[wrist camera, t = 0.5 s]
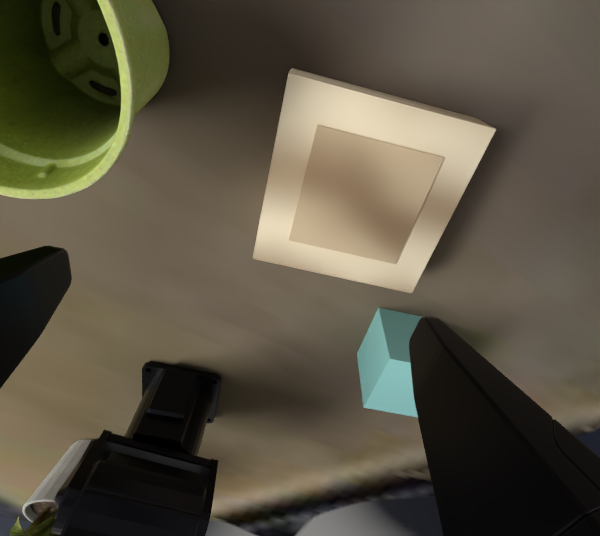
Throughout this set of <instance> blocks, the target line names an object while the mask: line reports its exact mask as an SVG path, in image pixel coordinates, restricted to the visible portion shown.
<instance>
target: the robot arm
mask: <svg viewBox="0 0 600 536" xmlns="http://www.w3.org/2000/svg"><path fill="white" fill-rule="evenodd" d="M71 279H72V277H71V269H70V263H69V257H68V253H67V251H66V250H65V249H63V248H58V247H53V246H43V247H39V248H36V249H32V250H29V251H25V252H22V253H18V254H14V255H11V256H7V257H4V258H0V388H1V387H2V386H3V384H4V383H5V382H6V380H7V379H8V378H9V376H10V375H11V374H12V372H13V371H14V370H15V368H16V367H17V366H18V364H19V363H20V362H21V361H22V359H23V358H24V357H25V355H26V354H27V353H28V351H29V350H30V349H31V347H32V346H33V345H34V343H35V342H36V341H37V339H38V338H39V336H40V335H41V333H42V332H43V330H44V329H45V327H46V325H47V324H48V322H49V320H50V318H51V317H52V315H53V313H54V312H55V310H56V308H57V307H58V305H59V303H60V302H61V300H62V298H63V297H64V295H65V293H66V292H67V290H68V288H69V286H70V284H71ZM409 353H410V363H411V374H412V384H413V394H414V400H415V406H416V411H417V415H418V420H419V425H420V429H421V434H422V439H423V444H424V448H425V453H426V458H427V462H428V467H429V472H430V476H431V481H432V486H433V490H434V495H435V500H436V504H437V509H438V514H439V518H440V523H441V528H442V532H443V536H600V458H599V456H597V455H596V454H595V453H594V452H592V451H591V450H590V449H589V448H588V447H587V446H585V445H584V444H583V443H582V442H581V441H579V440H578V439H577V438H576V437H575V436H574V435H572V434H571V433H570V432H569V431H568V430H567V429H565V428H564V427H563V426H562V425H561V424H560V423H559V422H557V421H556V420H554V419H553V420H552V417H551V416H550V415H549V414H548V413H547V412H546V411H545V410H543V409H542V408H541V407H540V406H539V405H538V404H537V403H535V402H534V401H533V400H532V399H531V398H530V397H529V396H527V395H526V394H525V393H524V392H523V391H522V390H520V389H519V388H518V387H517V386H516V385H515V384H514V383H512V382H511V381H510V380H509V379H508V378H507V377H505V376H504V375H503V374H502V373H501V372H500V371H499V370H497V369H496V368H495V367H494V366H493V365H492V364H491V363H489V362H488V361H487V360H486V359H485V358H484V357H482V356H481V355H480V354H479V353H478V352H477V351H476V350H474V349H473V348H472V347H471V346H470V345H469V344H468V343H466V342H465V341H464V340H463V339H462V338H461V337H459V336H458V335H457V334H456V333H455V332H454V331H453V330H451V329H450V328H449V327H448V326H447V325H446V324H445V323H443V322H442V321H441V320H440V319H438V318H435V317H429V316H423V317H421V318H420V320H419V322H418V324H417V326H416V328H415V330H414V332H413V334H412V336H411V338H410V341H409ZM220 384H221V377H220V376H219V375H216V374H210V373H205V372H199V371H194V370H189V369H183V368H178V367H172V366H167V365H161V364H156V363H150V362H147V363H145V364H144V366H143V368H142V400H141V402H140V404H139V407H138V409H137V411H136V413H135V415H134V417H133V419H132V421H131V424H130V426H129V428H128V430H127V432H126V434H125V436H120V435H117V434H113V433H112V432H111V431H107V430H104V431H103V433H102V434H101V436H100V438H99V439H96V440H91V441H90V443H89V445H88V447H87V449H86V451H85V452H84V454H83V456H82V458H81V460H80V461H79V463H78V464H77V466H76V467H75V469H74V470H73V471H72V473H71V474H70V475H69V477H68V478H67V480H66V481H65V482H64V484H63V485H62V486H61V488H60V489H59V491H58V492H57V494H56V496H55V499H54V502H55V505H56V508H57V512H56V515H55V519H56V520H55V522H54V525H53V528H52V533H54V534H59V535H60V536H205V534H206V531H207V527H208V523H209V519H210V514H211V509H212V502H213V494H214V487H215V480H216V473H217V465H218V460H214V459H211V460H209V459H206V458H202V457H198V452H199V448H200V445H201V441H202V437H203V434H204V430H205V427H206V423H212V422H213V421H214V417H215V412H216V406H217V401H218V395H219V389H220Z"/></svg>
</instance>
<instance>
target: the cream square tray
mask: <svg viewBox="0 0 600 536" xmlns="http://www.w3.org/2000/svg"><path fill="white" fill-rule="evenodd" d="M495 131H496V129H495V128H493V127H492V126H490V125H488V124H486V123H485V122H483V121H481V120H479V119H477V118H474V117H471V116H467V115H463V114H460V113H456V112H452V111H449V110H445V109H441V108H438V107H434V106H430V105H427V104H423V103H419V102H416V101H412V100H408V99H405V98H401V97H397V96H394V95H390V94H386V93H383V92H379V91H375V90H372V89H368V88H364V87H360V86H357V85H353V84H349V83H346V82H342V81H338V80H335V79H331V78H327V77H324V76H320V75H316V74H313V73H309V72H305V71H302V70H298V69H294V68H291V70H290V71H289V73H288V78H287V83H286V88H285V94H284V99H283V104H282V109H281V114H280V119H279V124H278V130H277V135H276V140H275V145H274V150H273V155H272V161H271V166H270V171H269V176H268V181H267V186H266V192H265V197H264V202H263V207H262V212H261V217H260V223H259V228H258V233H257V238H256V243H255V248H254V253H253V259H257V260H261V261H266V262H270V263H275V264H280V265H284V266H289V267H293V268H298V269H303V270H307V271H312V272H316V273H321V274H326V275H330V276H335V277H339V278H344V279H349V280H353V281H358V282H362V283H367V284H372V285H376V286H381V287H385V288H390V289H395V290H399V291H404V292H409V293H412V292H413V290H414V288H415V286H416V284H417V282H418V280H419V278H420V276H421V274H422V272H423V271H424V269H425V267H426V265H427V263H428V261H429V259H430V257H431V255H432V253H433V251H434V249H435V247H436V245H437V243H438V241H439V240H440V238H441V236H442V234H443V232H444V230H445V228H446V226H447V224H448V222H449V220H450V218H451V216H452V214H453V212H454V210H455V208H456V207H457V205H458V203H459V201H460V199H461V197H462V195H463V193H464V191H465V189H466V187H467V185H468V183H469V181H470V179H471V177H472V176H473V174H474V172H475V170H476V168H477V166H478V164H479V162H480V160H481V158H482V156H483V154H484V152H485V150H486V148H487V146H488V144H489V143H490V141H491V139H492V137H493V135H494V133H495Z"/></svg>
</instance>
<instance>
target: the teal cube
mask: <svg viewBox="0 0 600 536" xmlns="http://www.w3.org/2000/svg"><path fill="white" fill-rule="evenodd" d="M420 318H421V316H416V315H412V314H407V313H402V312H397V311H393V310H388V309H383V308H378V310H377V312H376V314H375V316H374V318H373V321H372V323H371V325H370V327H369V329H368V331H367V333H366V336H365V338H364V340H363V342H362V344H361V346H360V349H359V351H358V353H357V359H358V367H359V375H360V383H361V391H362V399H363V407H364V408H369V409H375V410H380V411H386V412H391V413H396V414H402V415H407V416H413V417H418V415H417V411H416V406H415V400H414V394H413V384H412V374H411V363H410V353H409V341H410V338H411V336H412V334H413V332H414V330H415V328H416V326H417V324H418V322H419V320H420ZM442 322H443V321H442Z"/></svg>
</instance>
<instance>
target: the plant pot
mask: <svg viewBox="0 0 600 536" xmlns="http://www.w3.org/2000/svg"><path fill="white" fill-rule="evenodd" d="M54 3H59V5H60V6H61V11H60V28H59V29H60V35H59V36H57V34H56V33H55V32H54V30H53V19H52V7H53V4H54ZM101 33H105V34H106V35H107V37H108V39H109V43H108V44H107V46H103V45H102V44H101V43H100V42H99V34H101ZM168 67H169V41H168V35H167V31H166V28H165V26H164V24H163V21H162V19H161V17H160V15H159V13H158V11H157V9H156V7H155V6H154V4H153V2H152V0H0V194H1V195H4V196H10V197H15V198H22V199H49V198H57V197H62V196H66V195H70V194H73V193H76V192H78V191H81V190H83V189H85V188H87V187H89V186H91V185H92V184H94V183H95V182H97V181H98V180H99V179H101V178H102V177H103V176H104V175H105V174H106V173H107V172H108V171H109V170H110V169H111V168H112V167H113V166H114V165H115V163H116V162H117V161H118V159H119V157H120V156H121V154H122V152H123V150H124V148H125V147H126V144H127V142H128V139H129V136H130V133H131V130H132V126H133V119H134V116H135V115H136V114H137V113H138V112H139V111H140V110H141V109H142V108H143V107H144V106H145V105H146V104H147V103H148V102H149V101H150V100H151V99H152V97H153V96H154V95H155V94H156V93H157V92H158V91H159V89H160V88H161V86H162V85H163V83H164V81H165V78H166V75H167V72H168ZM92 80H93V81H95V82H97V83H99V84H100V85H102V86H104V87H107V88H112V89H114V90H116V92H117V94H116V95H115V96H114V95H113V96H109V95H106V94H104V93H102V92H99V91H97V90H96V89H94V88H93V87H92V86H91V84H90V83H89V82H90V81H92Z"/></svg>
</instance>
